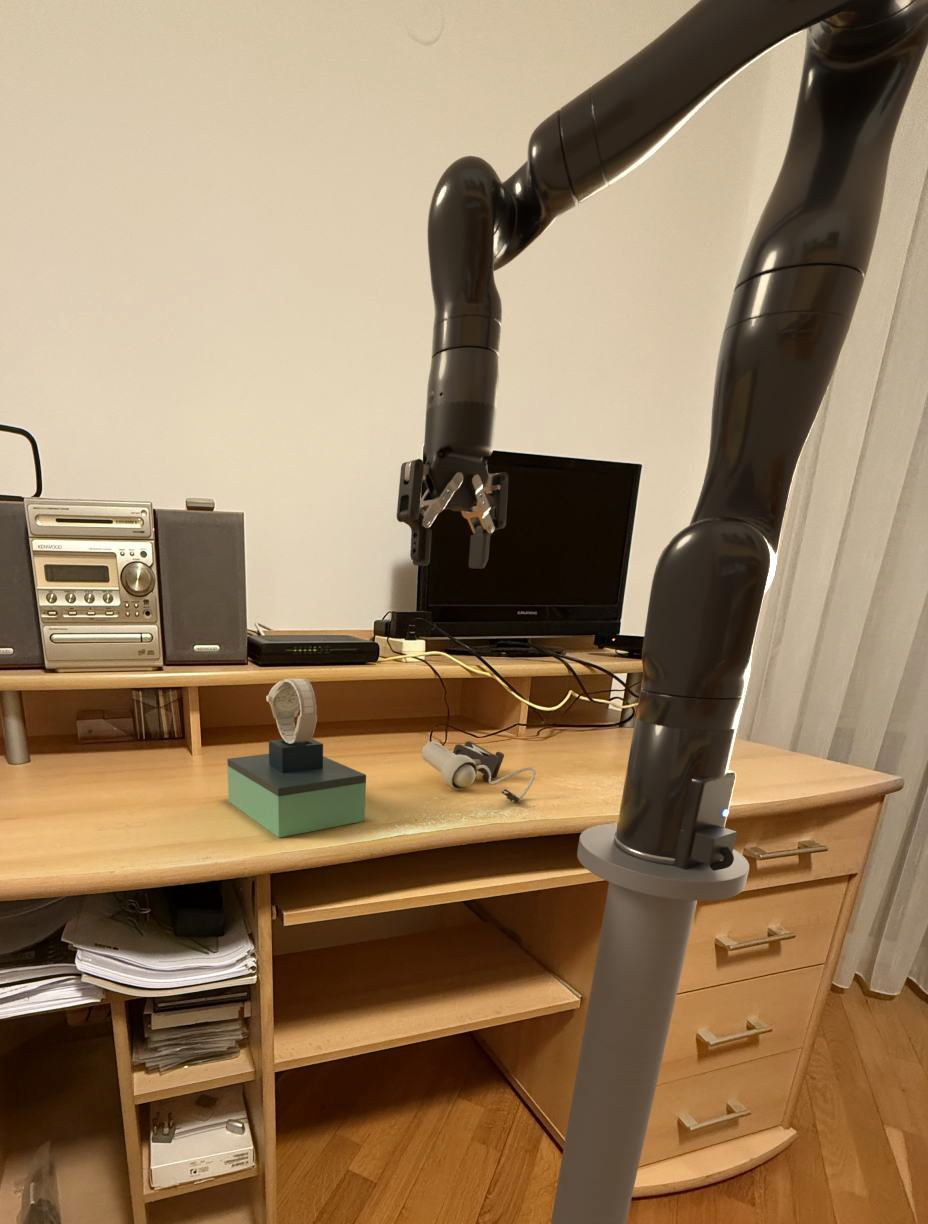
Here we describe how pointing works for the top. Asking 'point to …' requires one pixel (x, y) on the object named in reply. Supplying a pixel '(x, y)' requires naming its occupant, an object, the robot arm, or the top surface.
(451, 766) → the clip-on lamp
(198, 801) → the top surface
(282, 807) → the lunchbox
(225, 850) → the top surface
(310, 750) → the watch
